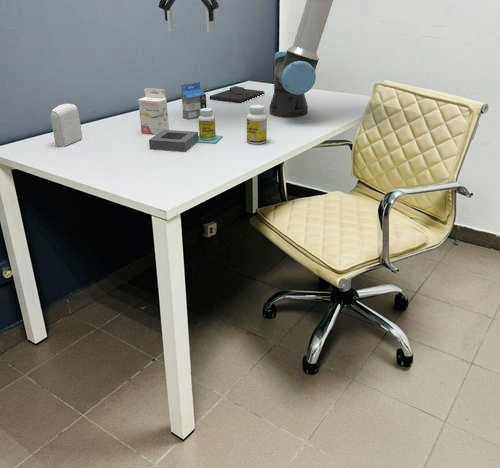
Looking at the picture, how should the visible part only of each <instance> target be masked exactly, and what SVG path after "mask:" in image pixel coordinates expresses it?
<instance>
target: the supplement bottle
mask: <svg viewBox="0 0 500 468" xmlns="http://www.w3.org/2000/svg"><path fill="white" fill-rule="evenodd" d="M200 114H201V115H200V116H199V117H197V119H198V121H197V122H198V136H200V139H201V140H213V139H215V138H216V135H217V133H216V118H215V116H214V114H213V109H212V108H210V107H207V108H203V109H200Z"/></svg>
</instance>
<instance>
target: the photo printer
mask: <svg viewBox="0 0 500 468" xmlns="http://www.w3.org/2000/svg"><path fill="white" fill-rule="evenodd" d="M49 117H50V122H51V127H52V134H53V138H54V144H55V145H56V146H57V147H61V148H62V147H63V146H64V147H66V146H69V145H71V144H74V143H75V142H77V141H80V140H82V139H83V132H82V124H81V120H80V114H79V109H78V107H77V106H76V105H75V103H74V104H73V103H63V104H62V103H61V104H60V105H57V106H56V107H54V108H53V109H52V110H51V111H50V113H49Z"/></svg>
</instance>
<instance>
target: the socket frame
mask: <svg viewBox="0 0 500 468" xmlns="http://www.w3.org/2000/svg"><path fill="white" fill-rule="evenodd" d="M198 136H199V131H190V130H173V129H169V130H163V131H161V132H160V133H158V134H157V135H155V134H154V136H152V137H151V138H149V139H148V142H149V143H148V146H149V150H154V151H171V152H181V153H183V152H186V153H187V151H189V150H190V149H191V148H192V147H193V146H194V145H195V144H198V143H197V141H198V140H199V139H198Z"/></svg>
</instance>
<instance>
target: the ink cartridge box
mask: <svg viewBox="0 0 500 468" xmlns="http://www.w3.org/2000/svg"><path fill="white" fill-rule="evenodd" d="M143 90H144V95H145V96H144V97H142V98H138V110H139V119H140V120H139V122H140V131H141V134H146V135H147V134H148V135H154V136H155V135H157V134H158V133H160V132H161V131H163V130H170V127H169V116H168V114H169V113H168V102H167V100H168V99H167V95H166V89H164V88H152V87H145V88H144V89H143ZM155 92H156V93H155Z"/></svg>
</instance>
